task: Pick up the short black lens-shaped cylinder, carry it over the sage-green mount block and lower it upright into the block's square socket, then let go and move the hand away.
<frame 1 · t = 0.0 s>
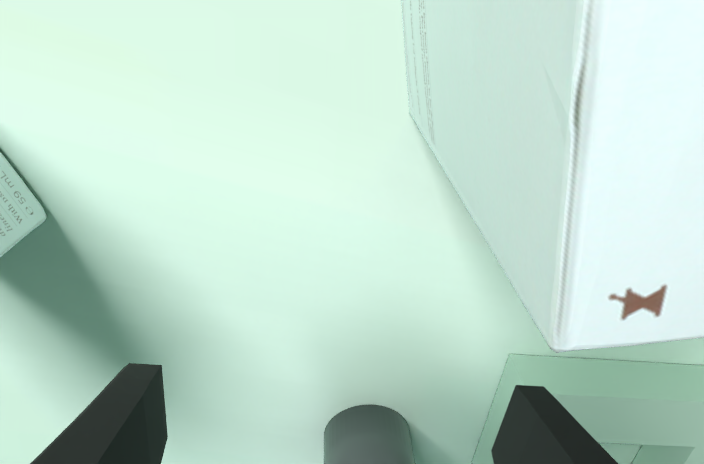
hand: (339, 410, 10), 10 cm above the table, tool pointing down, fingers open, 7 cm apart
mount block: (587, 445, 26), on the table
lens: (366, 435, 25), on the table
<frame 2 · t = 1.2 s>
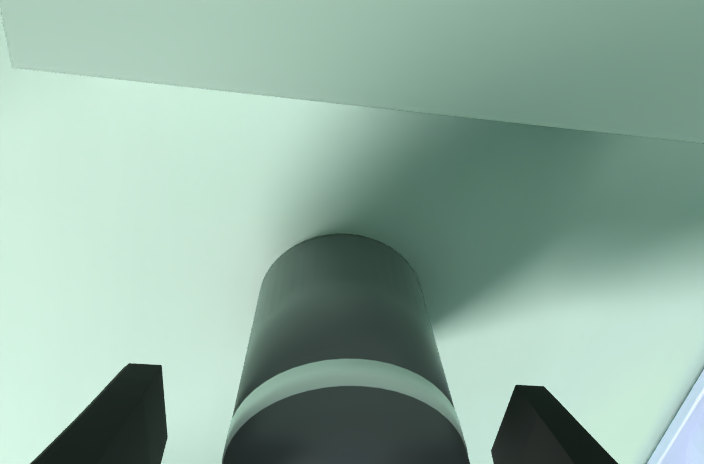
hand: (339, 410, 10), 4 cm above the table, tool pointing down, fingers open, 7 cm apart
lens: (340, 305, 13), on the table
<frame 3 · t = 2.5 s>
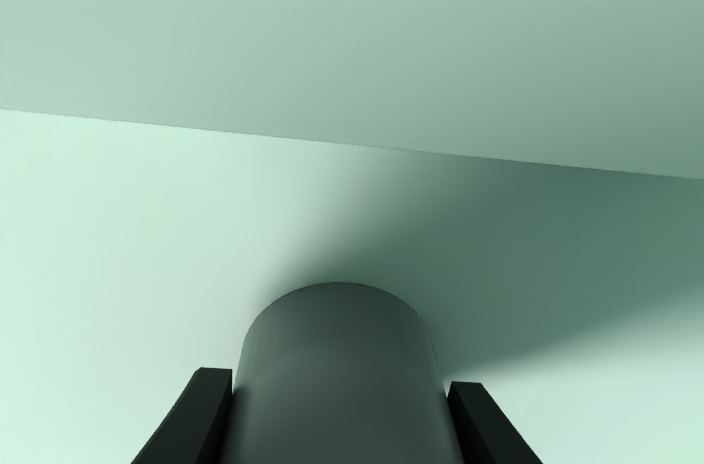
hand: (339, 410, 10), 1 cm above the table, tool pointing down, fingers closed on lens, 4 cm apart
lens: (337, 361, 11), on the table, touching gripper
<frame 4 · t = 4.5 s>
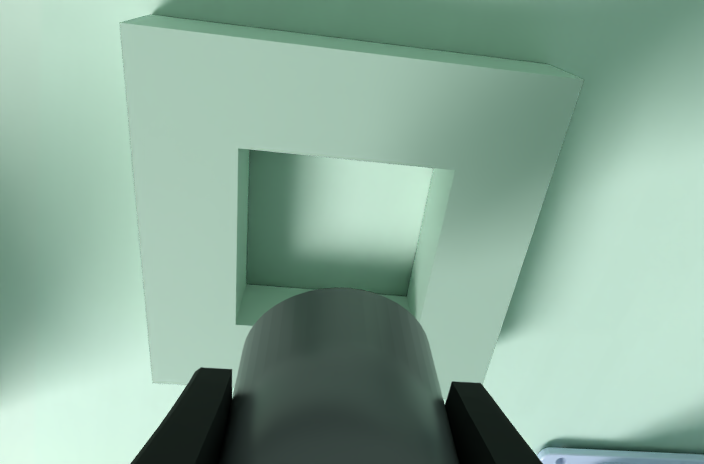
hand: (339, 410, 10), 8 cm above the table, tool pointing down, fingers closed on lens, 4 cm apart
mount block: (336, 218, 17), on the table
lens: (336, 363, 12), point 7 cm above the table, touching gripper
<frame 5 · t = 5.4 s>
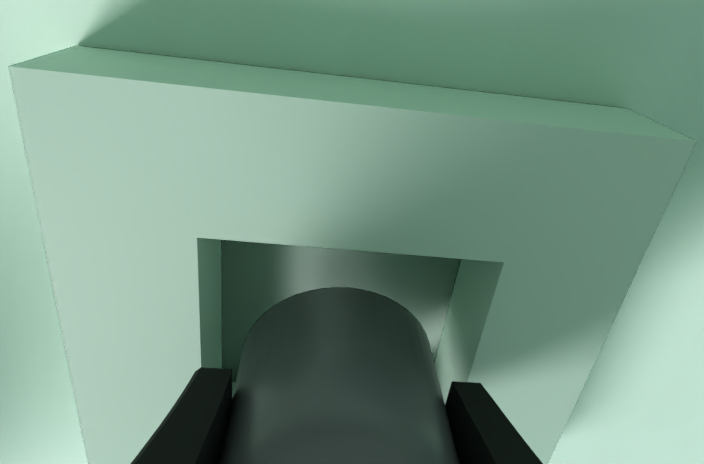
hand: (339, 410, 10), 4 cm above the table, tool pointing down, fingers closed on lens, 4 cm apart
mount block: (336, 303, 13), on the table
lens: (337, 363, 12), point 2 cm above the table, touching gripper
when the fingers open (3 cm above the table, at t = 6.4 s): lens drops 2 cm, resting in mount block.
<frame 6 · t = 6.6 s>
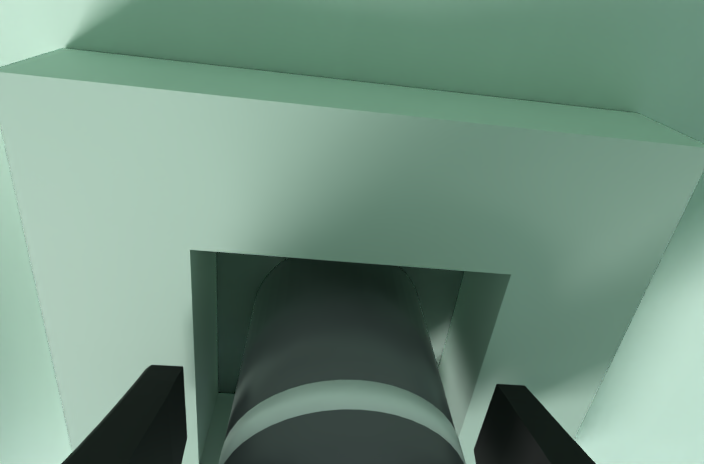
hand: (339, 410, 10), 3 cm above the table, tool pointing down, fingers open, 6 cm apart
mount block: (336, 314, 13), on the table
lens: (337, 316, 13), resting in mount block
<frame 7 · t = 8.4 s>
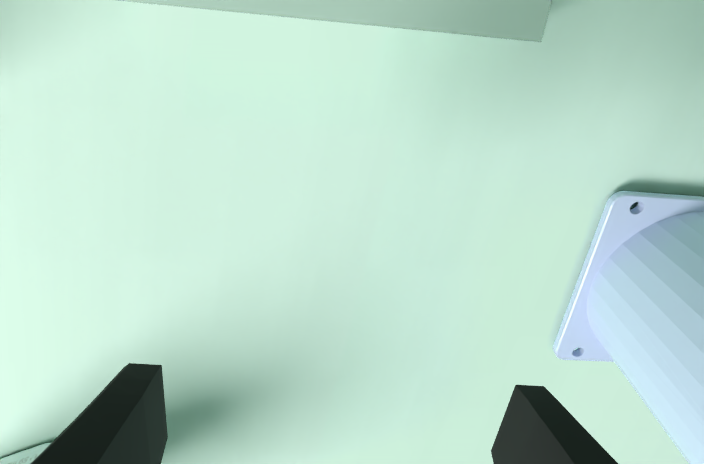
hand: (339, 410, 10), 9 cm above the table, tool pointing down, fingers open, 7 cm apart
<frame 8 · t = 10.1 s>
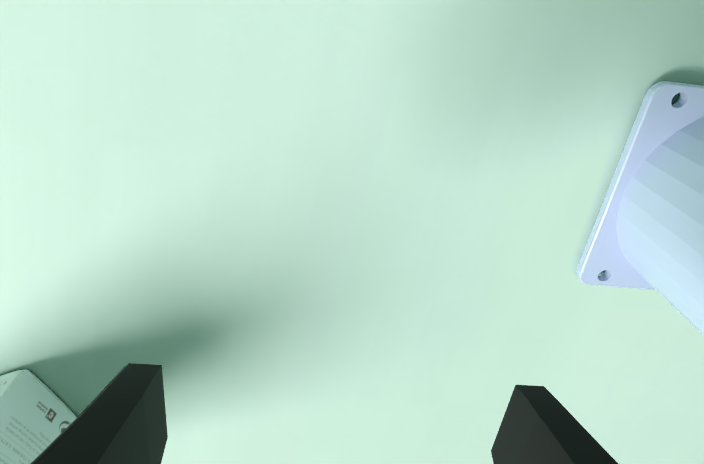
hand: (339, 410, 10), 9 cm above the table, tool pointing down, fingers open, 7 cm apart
skincare box: (8, 414, 23), on the table
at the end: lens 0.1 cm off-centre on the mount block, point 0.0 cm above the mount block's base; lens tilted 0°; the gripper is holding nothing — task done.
